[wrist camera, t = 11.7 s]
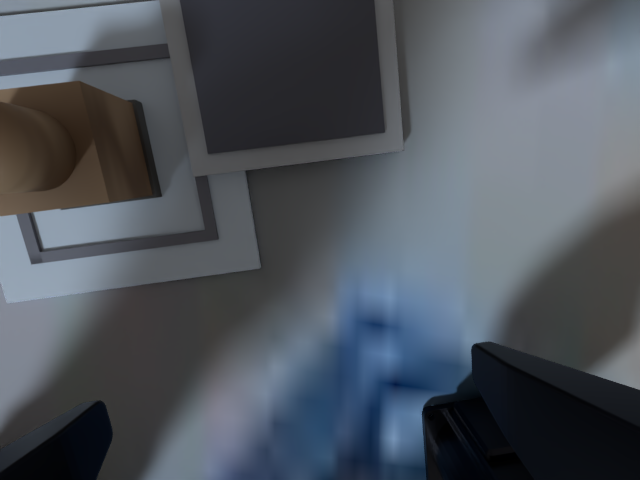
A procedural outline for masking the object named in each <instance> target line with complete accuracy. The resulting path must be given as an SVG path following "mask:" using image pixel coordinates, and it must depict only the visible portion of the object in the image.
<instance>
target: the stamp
mask: <svg viewBox="0 0 640 480" xmlns="http://www.w3.org/2000/svg"><path fill="white" fill-rule="evenodd" d="M158 197H162V194H161V189H160V184H159V180H158V175H157V171H156V166H155V161H154V157H153V152H152V148H151V143H150V138H149V134H148V129H147V125H146V120H145V115H144V111H143V106H142V103H141V102H139V101H137V100H135V99H134V100H124V99H121V98H119V97H117V96H114V95H112V94H110V93H107V92H105V91H103V90H100V89H98V88H95V87H93V86H91V85H88V84H86V83H84V82H81V81H72V82H63V83H54V84H45V85H36V86H28V87H19V88H10V89H1V90H0V216H8V215H16V214H24V213H31V212H39V211H47V210H55V209H61V210H66V209H74V208H82V207H90V206H97V205H105V204H113V203H120V202H128V201H136V200H144V199H151V198H158Z"/></svg>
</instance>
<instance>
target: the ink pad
mask: <svg viewBox="0 0 640 480" xmlns="http://www.w3.org/2000/svg"><path fill="white" fill-rule="evenodd" d="M159 2H160V7H161V13H162V18H163V23H164V28H165V33H166V38H167V43H168V49H169V54H170V59H171V64H172V69H173V74H174V80H175V85H176V90H177V95H178V100H179V105H180V110H181V116H182V121H183V126H184V131H185V136H186V141H187V146H188V152H189V157H190V162H191V167H192V172H193V177H197V176H205V175H214V174H222V173H230V172H238V171H247V170H255V169H263V168H271V167H279V166H287V165H295V164H303V163H311V162H319V161H327V160H335V159H343V158H351V157H359V156H367V155H376V154H384V153H392V152H399V151H404V144H403V130H402V116H401V102H400V88H399V74H398V60H397V46H396V32H395V18H394V4H393V0H159Z"/></svg>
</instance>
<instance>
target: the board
mask: <svg viewBox="0 0 640 480" xmlns="http://www.w3.org/2000/svg"><path fill="white" fill-rule="evenodd" d="M72 81H81V82H84V83H86V84H88V85H91V86H93V87H95V88H98V89H100V90H103V91H105V92H107V93H110V94H112V95H114V96H117V97H119V98H121V99H124V100H134V99H135V100H137V101H139V102H141V103H142V106H143V111H144V115H145V120H146V125H147V129H148V134H149V138H150V143H151V148H152V152H153V157H154V161H155V166H156V171H157V175H158V180H159V184H160V189H161V194H162V197H158V198H151V199H144V200H136V201H128V202H120V203H113V204H105V205H97V206H90V207H82V208H74V209H66V210H61V209H55V210H47V211H39V212H31V213H24V214H16V215H8V216H0V283H1V286H2V289H3V292H4V295H5V298H6V301H7V303H14V302H21V301H28V300H35V299H43V298H50V297H57V296H64V295H72V294H79V293H86V292H93V291H101V290H108V289H115V288H123V287H130V286H137V285H144V284H152V283H159V282H166V281H173V280H181V279H188V278H195V277H202V276H210V275H217V274H224V273H231V272H239V271H246V270H253V269H260V268H261V262H260V256H259V250H258V244H257V238H256V232H255V225H254V219H253V213H252V207H251V201H250V195H249V189H248V183H247V176H246V171H238V172H230V173H222V174H214V175H205V176H197V177H193V172H192V167H191V162H190V157H189V152H188V146H187V141H186V136H185V131H184V126H183V121H182V116H181V110H180V105H179V100H178V95H177V90H176V85H175V80H174V74H173V69H172V64H171V59H170V54H169V49H168V43H167V38H166V33H165V28H164V23H163V18H162V13H161V7H160V2H159V0H155V1H145V2H136V3H126V4H116V5H106V6H96V7H86V8H77V9H67V10H57V11H47V12H37V13H27V14H18V15H8V16H0V90H1V89H10V88H19V87H28V86H36V85H45V84H54V83H63V82H72Z"/></svg>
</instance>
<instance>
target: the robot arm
mask: <svg viewBox="0 0 640 480" xmlns="http://www.w3.org/2000/svg"><path fill="white" fill-rule="evenodd" d="M471 354H472V376H473V380H474V382H475V385H476V386H477V388H478V390H479V392H480V394H481V395H482V397H483V398H478V399H471V400H465V401H459V402H452V403H446V404H440V405H434V406H428V407H426V408H424V409H423V411H422V423H423V436H424V450H425V464H426V478H427V480H640V390H638V389H635V388H632V387H629V386H626V385H623V384H619V383H616V382H613V381H610V380H607V379H604V378H601V377H598V376H595V375H592V374H588V373H585V372H582V371H579V370H576V369H573V368H570V367H567V366H564V365H561V364H557V363H554V362H551V361H548V360H545V359H542V358H539V357H536V356H533V355H530V354H526V353H523V352H520V351H517V350H514V349H511V348H508V347H505V346H502V345H499V344H495V343H492V342H482V343H476V344H474V345H473V346H472V349H471ZM430 414H433V415H432V416H429V415H430ZM112 436H113V431H112V426H111V423H110V419H109V416H108V412H107V409H106V405H105V404H104V402H102V401H91V402H85V403H82V404H80V405H78V406H76V407H75V408H73V409H71V410H69V411H68V412H66V413H64V414H62V415H61V416H59V417H57V418H55V419H53V420H52V421H50V422H48V423H46V424H45V425H43V426H41V427H39V428H38V429H36V430H34V431H32V432H30V433H29V434H27V435H25V436H23V437H22V438H20V439H18V440H16V441H15V442H13V443H11V444H9V445H7V446H6V447H4V448H2V449H0V480H96V478H97V476H98V473H99V471H100V469H101V466H102V464H103V461H104V459H105V456H106V454H107V451H108V449H109V446H110V444H111V441H112Z"/></svg>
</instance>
